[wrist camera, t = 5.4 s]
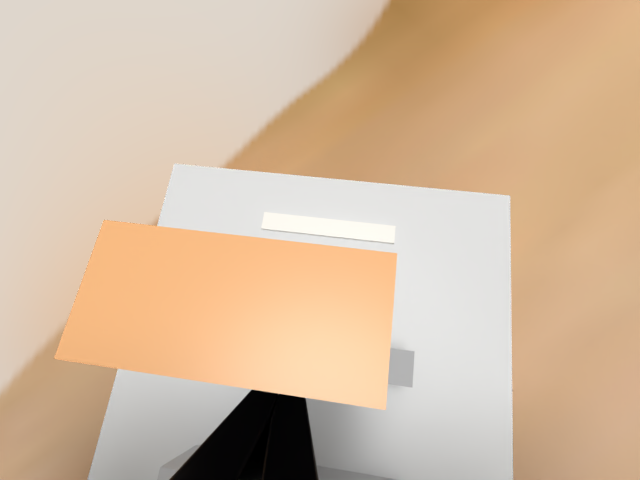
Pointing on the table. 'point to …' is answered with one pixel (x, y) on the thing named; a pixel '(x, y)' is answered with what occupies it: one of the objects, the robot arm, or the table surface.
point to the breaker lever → (237, 312)
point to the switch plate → (406, 338)
